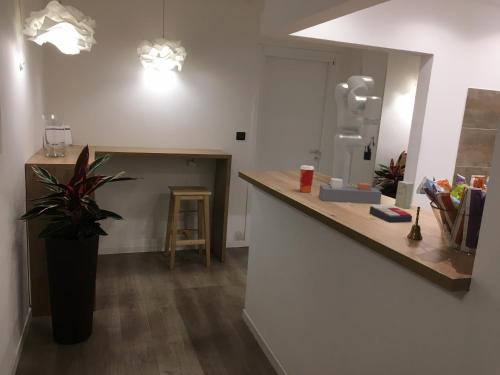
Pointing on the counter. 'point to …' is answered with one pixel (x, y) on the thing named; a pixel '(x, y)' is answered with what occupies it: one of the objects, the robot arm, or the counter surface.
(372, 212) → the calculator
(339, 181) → the grey plug
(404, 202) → the skincare box
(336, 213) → the counter surface
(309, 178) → the paper cup
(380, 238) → the counter surface
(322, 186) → the plug block
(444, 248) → the counter surface
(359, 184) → the red plug
